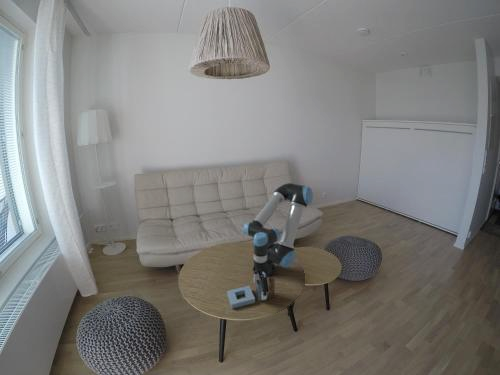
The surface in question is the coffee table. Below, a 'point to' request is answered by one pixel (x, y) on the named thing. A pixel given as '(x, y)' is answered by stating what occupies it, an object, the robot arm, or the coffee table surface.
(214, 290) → the coffee table surface
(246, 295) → the bore block
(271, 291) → the walnut dowel
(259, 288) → the square bit
